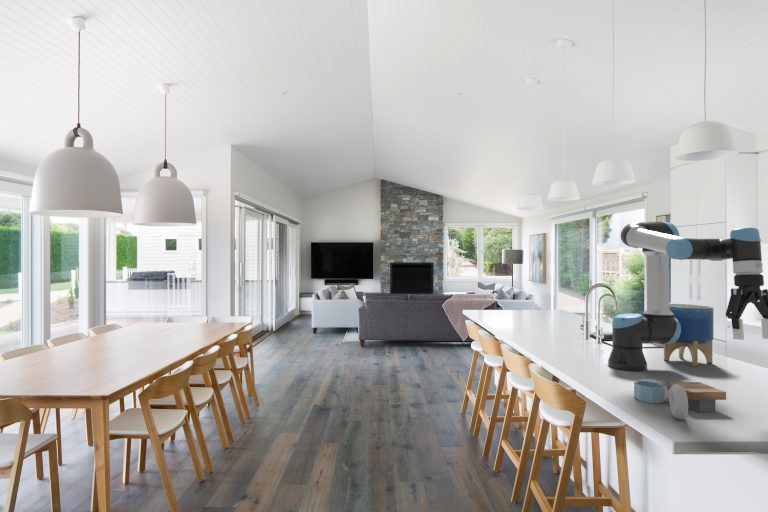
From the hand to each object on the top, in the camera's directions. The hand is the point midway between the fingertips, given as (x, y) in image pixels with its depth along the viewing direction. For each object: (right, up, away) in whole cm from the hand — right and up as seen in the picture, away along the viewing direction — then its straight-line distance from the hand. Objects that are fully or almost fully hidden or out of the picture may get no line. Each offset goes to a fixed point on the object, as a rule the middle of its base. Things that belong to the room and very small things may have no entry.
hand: (753, 339), depth 142 cm
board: (-20, -18, -2) cm, 27 cm away
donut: (-33, -22, -12) cm, 41 cm away
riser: (-20, -22, -2) cm, 30 cm away
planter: (+22, -23, +62) cm, 69 cm away
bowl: (-31, -22, +6) cm, 38 cm away
